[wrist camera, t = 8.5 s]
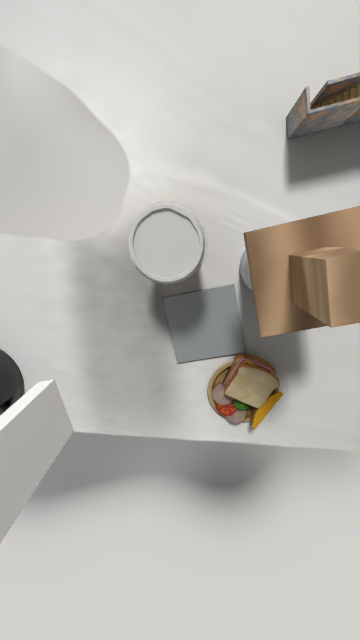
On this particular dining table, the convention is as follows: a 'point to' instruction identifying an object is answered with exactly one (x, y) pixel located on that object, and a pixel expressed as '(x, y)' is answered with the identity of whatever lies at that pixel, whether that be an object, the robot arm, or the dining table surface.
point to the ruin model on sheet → (326, 107)
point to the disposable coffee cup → (167, 242)
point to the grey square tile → (204, 324)
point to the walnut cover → (306, 272)
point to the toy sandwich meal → (244, 390)
